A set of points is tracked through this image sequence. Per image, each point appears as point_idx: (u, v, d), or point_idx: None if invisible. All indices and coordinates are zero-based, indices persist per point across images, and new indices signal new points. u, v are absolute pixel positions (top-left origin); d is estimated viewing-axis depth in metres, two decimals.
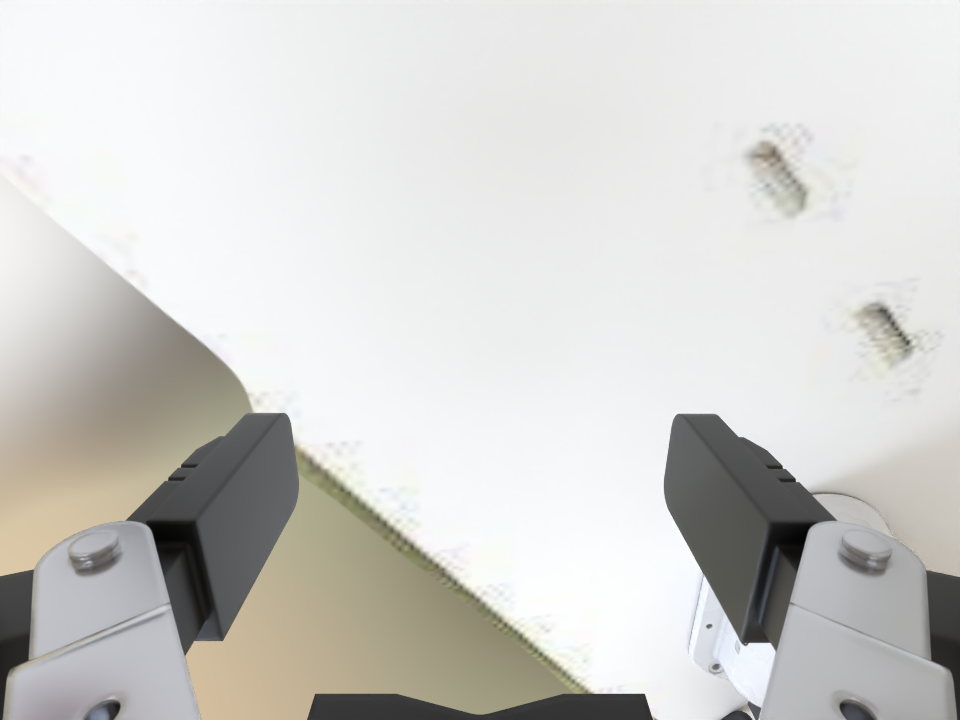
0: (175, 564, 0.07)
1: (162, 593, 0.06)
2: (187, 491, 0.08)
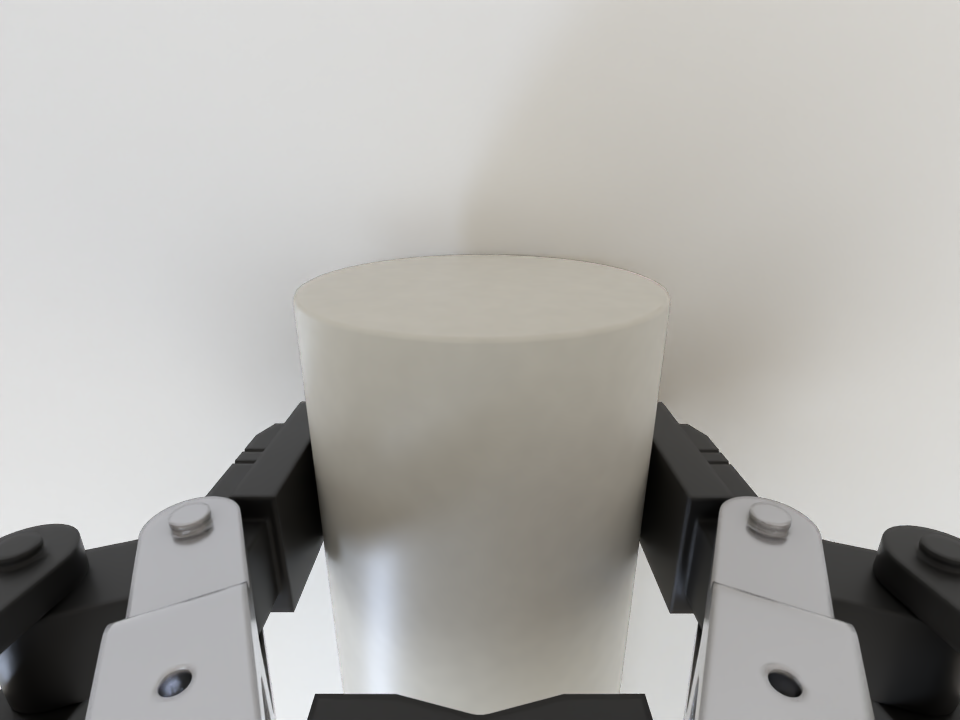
0: (258, 537, 0.08)
1: (243, 570, 0.06)
2: (261, 471, 0.08)
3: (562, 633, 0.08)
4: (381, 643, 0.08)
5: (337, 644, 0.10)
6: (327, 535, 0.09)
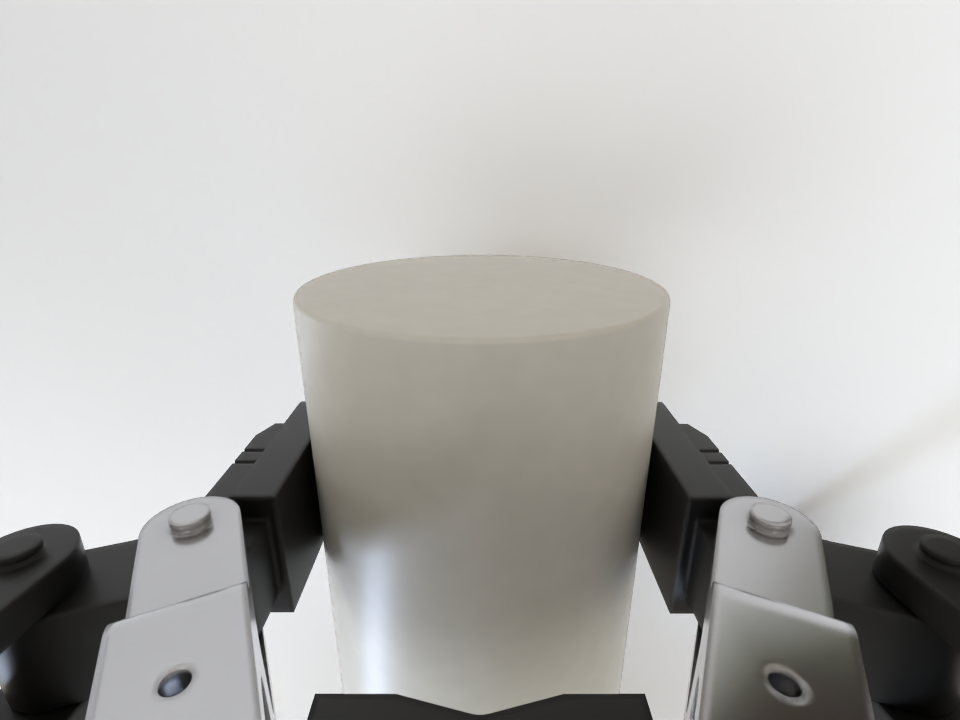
0: (257, 537, 0.08)
1: (242, 571, 0.06)
2: (261, 471, 0.08)
3: (561, 634, 0.08)
4: (380, 644, 0.08)
5: (337, 644, 0.10)
6: (327, 535, 0.09)
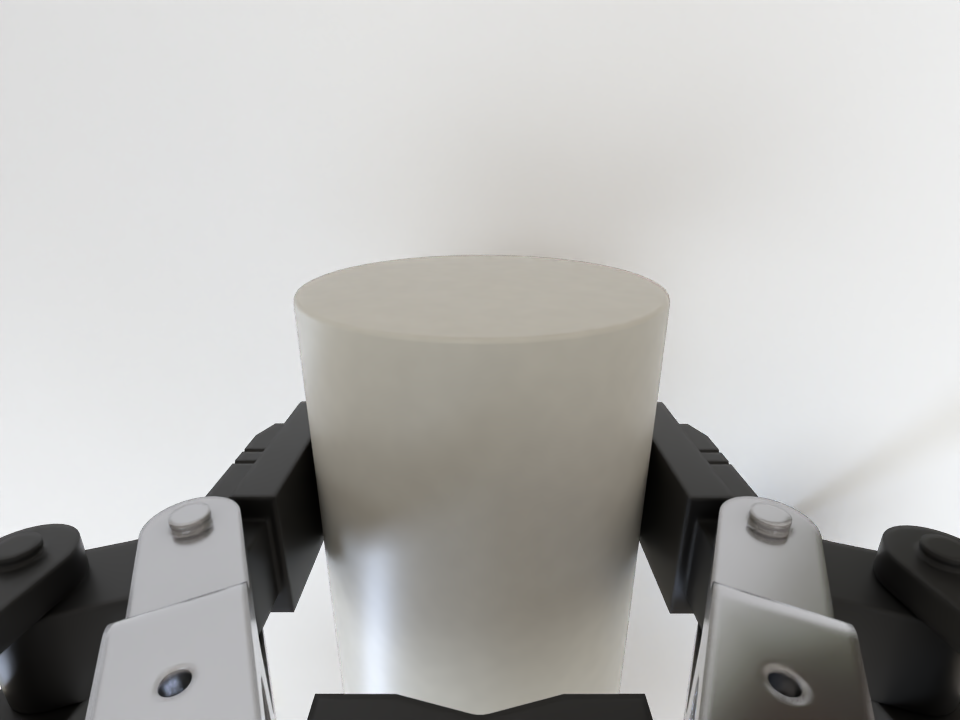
0: (257, 537, 0.08)
1: (242, 570, 0.06)
2: (261, 471, 0.08)
3: (561, 633, 0.08)
4: (380, 642, 0.08)
5: (337, 643, 0.10)
6: (327, 535, 0.09)
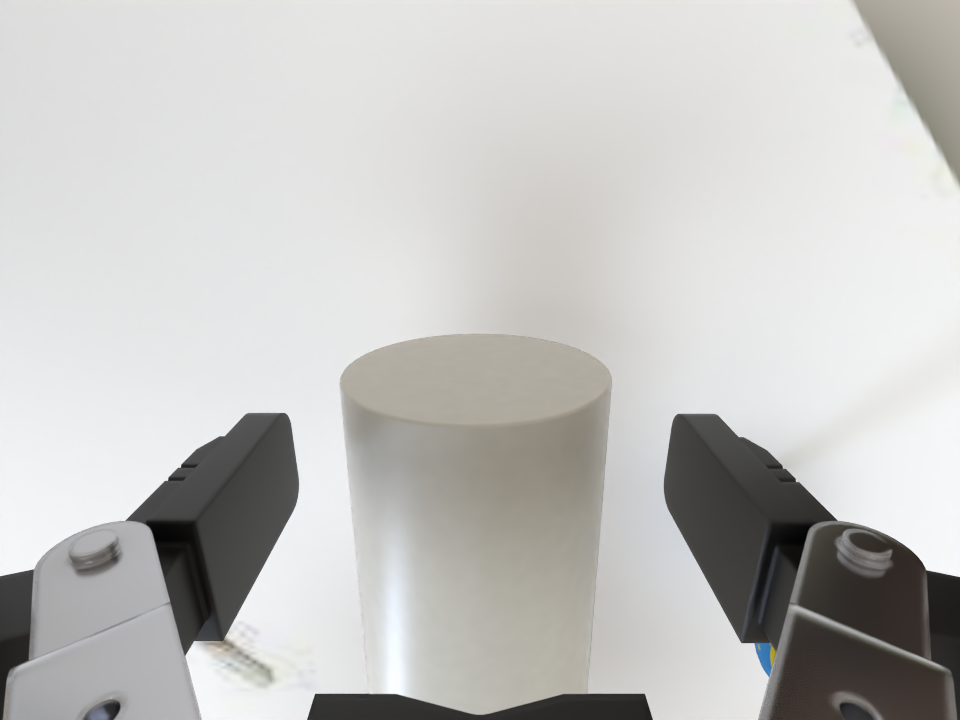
0: (175, 564, 0.07)
1: (162, 593, 0.06)
2: (187, 491, 0.08)
3: (534, 630, 0.11)
4: (401, 638, 0.11)
5: (365, 642, 0.13)
6: (361, 557, 0.12)
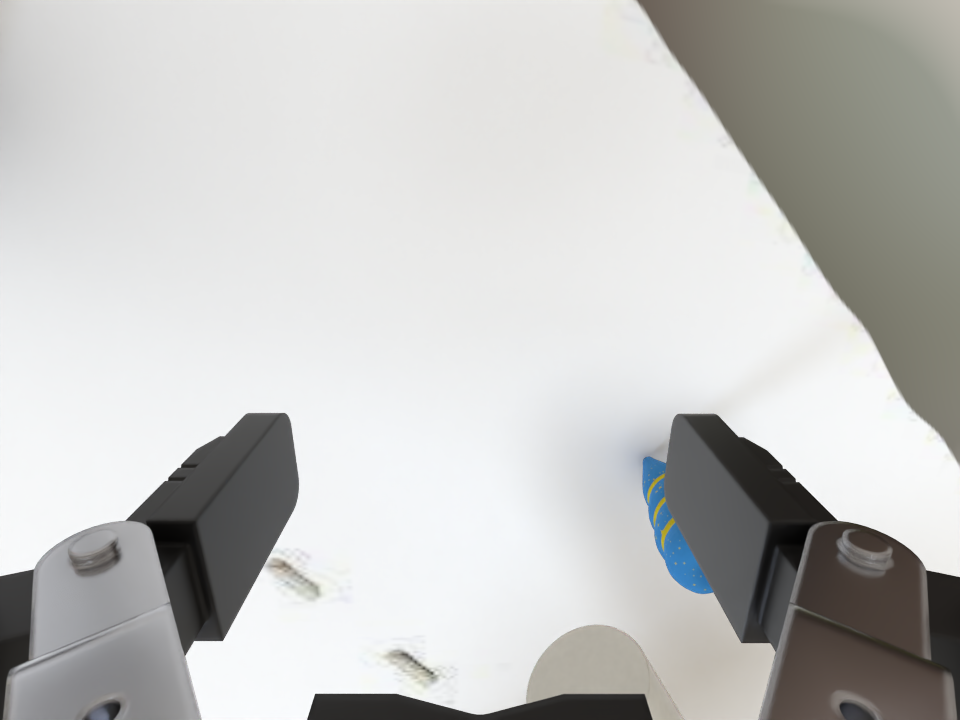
0: (175, 564, 0.07)
1: (162, 593, 0.06)
2: (187, 491, 0.08)
3: None
4: None
5: None
6: None
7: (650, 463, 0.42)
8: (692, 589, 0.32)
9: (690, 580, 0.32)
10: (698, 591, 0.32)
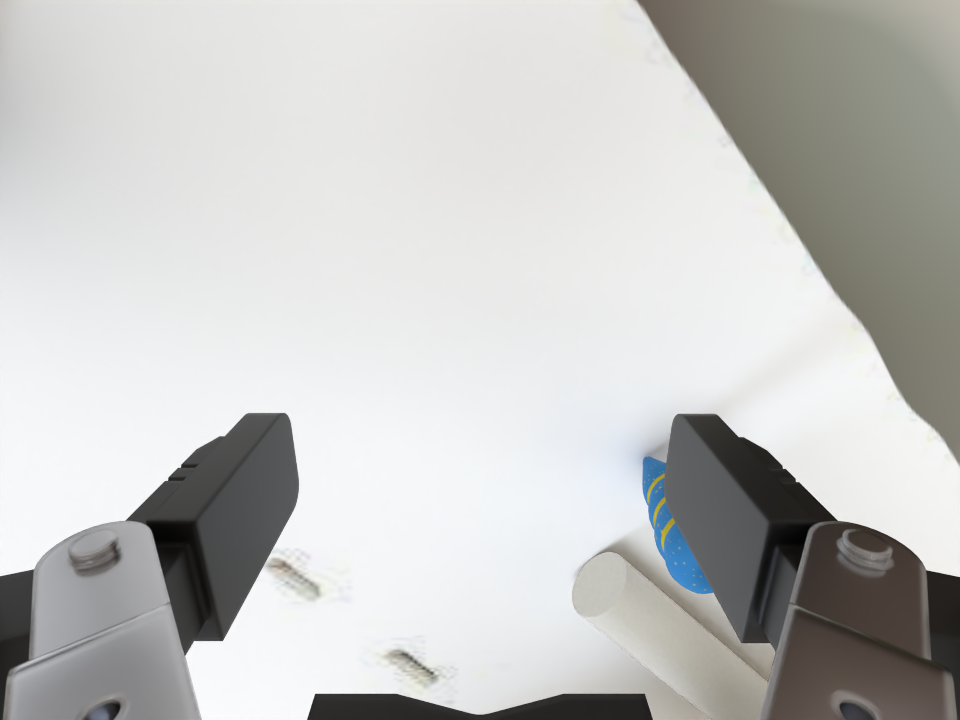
0: (175, 564, 0.07)
1: (162, 593, 0.06)
2: (187, 491, 0.08)
3: (655, 631, 0.44)
4: (631, 650, 0.45)
5: (628, 653, 0.47)
6: (610, 639, 0.45)
7: (650, 463, 0.42)
8: (692, 589, 0.32)
9: (690, 580, 0.32)
10: (698, 591, 0.32)
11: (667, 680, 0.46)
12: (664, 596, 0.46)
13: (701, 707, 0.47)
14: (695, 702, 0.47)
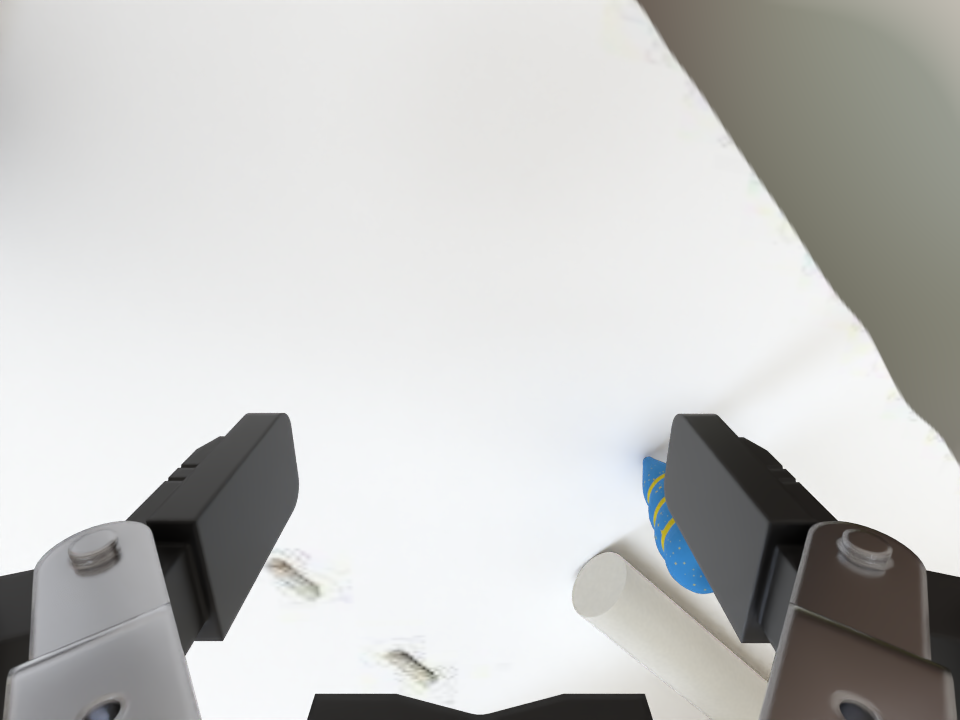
0: (175, 564, 0.07)
1: (162, 593, 0.06)
2: (187, 491, 0.08)
3: (655, 631, 0.44)
4: (631, 650, 0.45)
5: (628, 653, 0.47)
6: (610, 639, 0.45)
7: (650, 463, 0.42)
8: (692, 589, 0.32)
9: (690, 580, 0.32)
10: (698, 591, 0.32)
11: (667, 680, 0.46)
12: (664, 596, 0.46)
13: (701, 707, 0.47)
14: (695, 702, 0.47)
